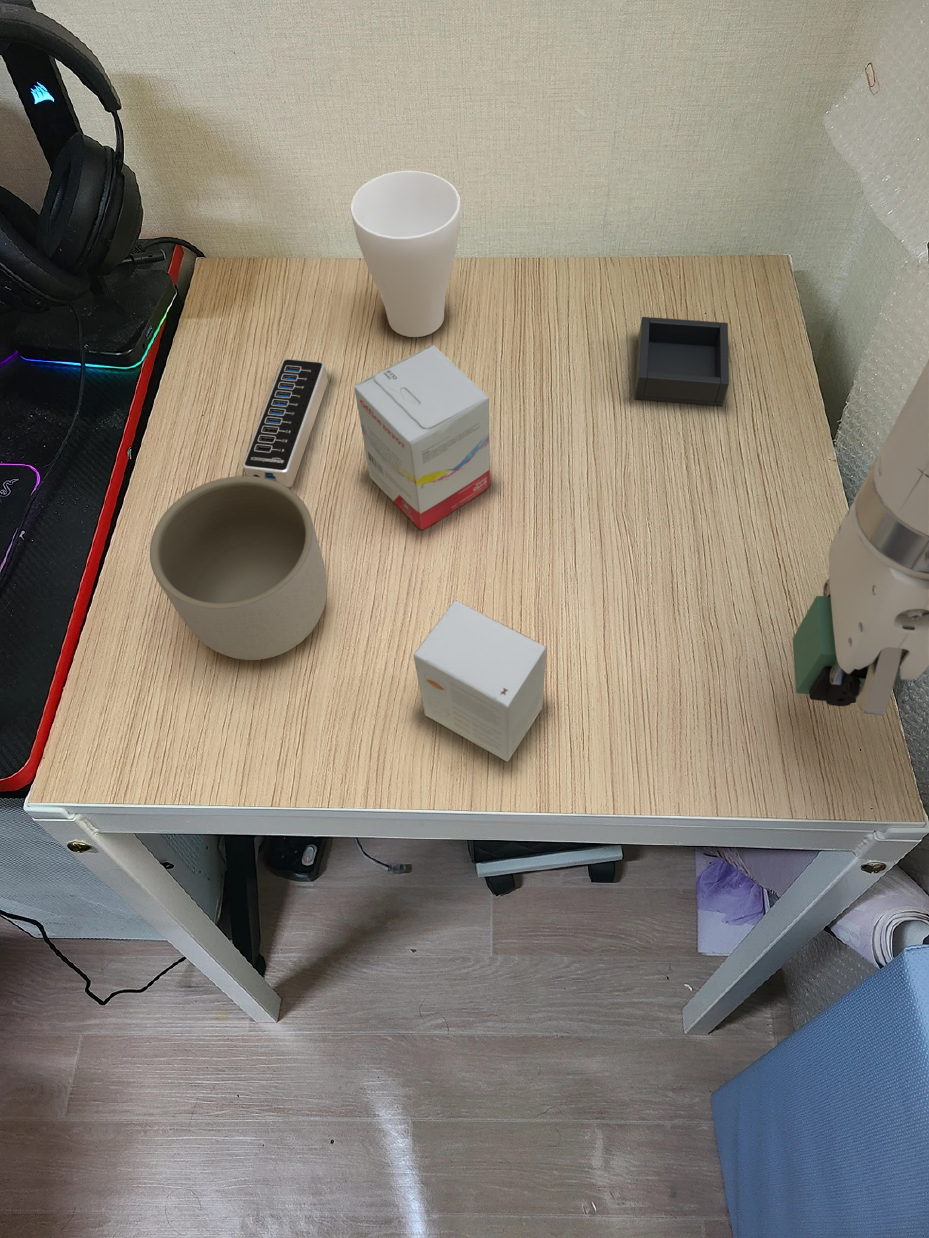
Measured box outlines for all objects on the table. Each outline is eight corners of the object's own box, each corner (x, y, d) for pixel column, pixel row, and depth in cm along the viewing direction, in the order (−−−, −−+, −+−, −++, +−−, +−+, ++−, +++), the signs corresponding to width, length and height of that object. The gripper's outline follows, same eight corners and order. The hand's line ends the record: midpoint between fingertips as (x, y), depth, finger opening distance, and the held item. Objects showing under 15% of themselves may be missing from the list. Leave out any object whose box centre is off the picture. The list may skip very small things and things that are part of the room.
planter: (340, 665, 73) (317, 596, 63) (190, 686, 72) (145, 619, 63) (331, 545, 79) (309, 465, 69) (193, 563, 78) (152, 485, 69)
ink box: (493, 487, 82) (493, 395, 71) (419, 533, 79) (408, 445, 69) (439, 433, 85) (431, 338, 75) (366, 475, 83) (349, 384, 73)
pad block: (856, 644, 63) (885, 601, 58) (861, 700, 61) (893, 660, 56) (792, 638, 64) (816, 595, 59) (795, 693, 62) (820, 653, 56)
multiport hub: (329, 378, 89) (325, 361, 87) (291, 488, 82) (287, 472, 80) (287, 374, 90) (283, 357, 88) (247, 483, 83) (241, 467, 81)
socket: (721, 345, 90) (728, 322, 88) (722, 406, 86) (729, 384, 83) (637, 339, 91) (642, 316, 88) (634, 399, 87) (638, 377, 84)
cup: (381, 281, 97) (365, 165, 85) (473, 291, 96) (470, 175, 84) (356, 346, 92) (336, 233, 80) (453, 358, 90) (448, 244, 79)
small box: (543, 709, 70) (550, 646, 61) (507, 765, 68) (509, 708, 59) (459, 662, 72) (454, 596, 63) (422, 715, 70) (411, 653, 61)
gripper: (1039, 652, 42) (896, 783, 57) (983, 395, 50) (872, 571, 66) (876, 638, 43) (779, 770, 58) (847, 387, 51) (770, 562, 67)
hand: (829, 663), depth 62 cm, fingers closed on pad block, 4 cm apart
